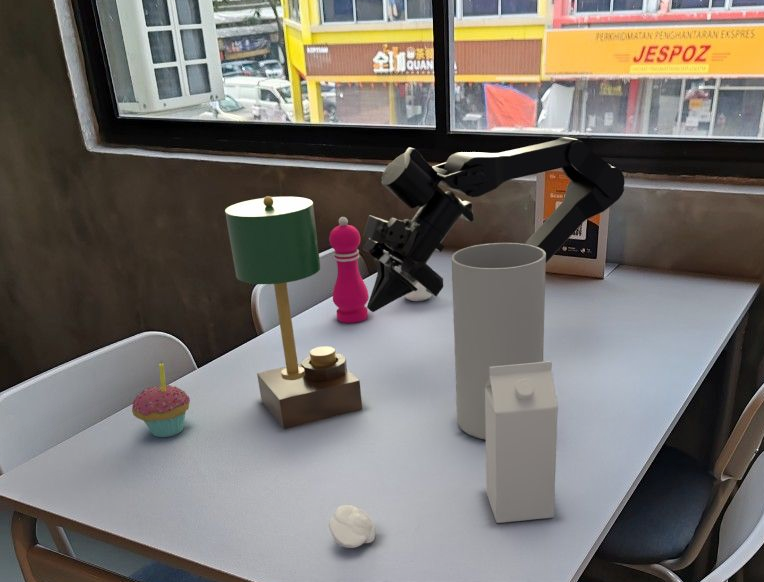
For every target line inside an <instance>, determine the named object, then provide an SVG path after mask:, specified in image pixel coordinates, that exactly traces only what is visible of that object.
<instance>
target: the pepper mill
mask: <svg viewBox="0 0 764 582" xmlns="http://www.w3.org/2000/svg"><path fill="white" fill-rule="evenodd" d="M348 223H349V220H348V218H347V217H345V216H341V217H339V219H338V225H337V226H335V227H334V228H333V229H332V230H331V231H330V232H329V233H330V234H329V237H328V239H329V245H330V246H331V248H332V249H333V252H332V253H333V255H334V256H333V260H334V261H336V266H337V267H336V268H337V275H336V276H337V277H336V280H335V283H334V286H333V290H332V302H333V304H334V305H335V306H336V308H337V310H336V318H337V320H338V322H341V323H343V324H355V323H361V322H363V321H365V320H367V319H368V317H369V312H368V311H369V310H368V308H367V306H366V304H368V302H369V299H370V297H369V291H368V288H367V285H366V283H365V281H364V279H363V278H362V276H361V274H360V273H361V272H360V270H359V265H358V263H359V259H360V250H359V249H358V248H359V246H360V244H361V235H360V231H359V230H358V229H357V228H356V226H354V225H350V224H348Z"/></svg>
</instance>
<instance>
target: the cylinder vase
mask: <svg viewBox="0 0 764 582" xmlns="http://www.w3.org/2000/svg"><path fill="white" fill-rule="evenodd" d="M546 264H547V263H546V253H545V251H544V250H542V249H541V248H538V247H536V246H532V245H527V244H525V243H519V242H492V243H482V244H475V245H471V246H467V247H464V248H461V249H459V250H457V251H455V252H453V254H452V255H451V281H452V285H451V286H452V311H453V312H452V313H453V338H454V339H453V340H454V344H453V345H454V369H455V370H454V371H455V397H456V399H455V400H456V421H457V424H458V426H459V428H460V429H461V430H462V431H463V432H464V433H466V434H468V435H469V436H472V437H474V438H476V439H477V438H478V439H481V440H485V441H486V421H485V386H486V383H487V381H488V378H489V376H490V370H489V367H493V366H504V365H515V364H526V363H536V362H544V349H545V348H544V347H545V346H544V342H545V341H544V340H545V307H546V306H545V305H546V304H545V303H546V302H545V301H546Z"/></svg>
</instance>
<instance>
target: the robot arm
mask: <svg viewBox="0 0 764 582" xmlns="http://www.w3.org/2000/svg"><path fill="white" fill-rule="evenodd" d="M558 169H561V170H562V172H563V174H564V175H565V177H566V178H567V179H568V180H569V183H568V184H567V186H566V190H565V193H564V196H563V200H562V202H561V203H560V204H559V205H558V206H557V208H555V210H554V211H552V213H551V214H550V215H549V216H548V217H547V218H546V220H544V222H543V223H542V224H541V225H540V226H539V227H538V228H537V229H536V231H534V233H533V234H532V235H531V236H530V237H529V238H528V239H527V240H526V241H525V243H524V244H527V245H532V246H536V247H538V248H541V249H542V250H544V251H545V253H546V264H547V263H548V262H549V261H550V260H551V258H553V256H554V255H555V254H556V253H557V252H558V251H559V250H560V249H561V248H562V246H563V245H564V244H565V243H566V242H567V241H568V240H569V239H570V237H571V236H572V235H573V234H574V233H575V232H576V231H577V230H578V229H579V228H580V227H581V225H582V224H583V223H584V222H586V221H587V220H589V219H591V218H593V217H596V216H597V215H599V214H602V213H604V212H606V211H607V210H608V209H609V208H610V207H611V206H613V205H614V204H615V203H616V202H618V201H619V200H620V198H621V197H622V196H623V195H624V193H625V183H626V182H625V176H624V173H623V171H622V170H621V169H619V168H618V167H615V166H612V165H610V164H609V162H607V161H606V160H605V159H603V158H602V157H600V156H599V155H598V154H596V153H595V152H593V151H592V150H591V149H590V148H589V147H588V146H587V145H586V143H584V142H583V141H582V140H580V139H578V138H572V137H567V136H562V137H559V138H558V139H555V140H551V141H546V142H542V143H537V144H533V145H532V144H531V145H528V146H524V147H520V148H519V147H518V148H514V149H511V150H505V151H501V152H479V151H478V152H476V151H472V152H471V151H470V152H467V151H466V152H465V151H464V152H463V151H461V152H455V153H452V154H451V155H450V156H449V157H448V158H447V160H446V161H445V162H442V163H440V164H436V165H431V164H430V163H428V161H426V160H425V159H424V158H423V156H422V154H421V152H419V151H418V150H417V149H416V148H413V147H408V148H407V149H406V150H405V152H404V153H402V154H400V155H399V156H397V157H395V159H394V160H392V162H389V163H388V164H387V166H386V167H385V168H384V171H383V173H382V175H381V178H380V179H381V180H380V181H381V182H380V183H381V184H382V186H384V187H385V188H386V190H388V191H389V192H390V193H391V194H392V195H393V196H395V197H396V198H397V199H398V200H399V201H400V202H401V203H402V204H403V205H404V206H405V207H407V209H410V210H411V209H415V208H419V209H418V210H417V211H416V213H415V214H414V216H413V217H412V219H408V218H405V219H403V220H401V219H397V218H395V217H391V218H390V219H389V220H385V219H382V218H380V217H377V216H374V215H371V214H370V215H368V218H367V220H366V225H365V228H364V231H363V234H362V236H363V237H365V238H368V239H367V240H366V242H365V243H364V245H363V246H362V250H363V251H364V252H366V253H367V254H368V255H369V256H371V257H372V258H374V259H373V262H374V264H375V267H376V273H377V274H376V279H375V281H374V285H373V287H372V291H371V293H370V297H369V299H368V301H367V305H366V307H367V310H368V311H370V312H371V313H375V312H377V311H378V310H380V309H382V308H384V307H385V306H387V305H389V304H391V303H392V302H394V301H396V300H399V299H400V298H402V297H405V296H404V295H406V294H408V293H410V292H412V291H415V292H416V291H417V290H418V289H417V288H416V287H415V285H416V284H417V282H419V283H420V284H421V285H422V286H423V287H425V288H426V291H427V292H428V293H430V294H432V296H434V297H436V298H437V297H438V295H439V294H440V293H441V292H442V290H443V289H444V277H442V276H441V275H440V274H439V273H438V272H436V271H435V269H433V268H432V267H430V265H428V264H427V263H428V261H429V260H430V259H431V257H432V256H433V255H434V253H435V252H436V251H437V252H439V253H442V251H443V250H444V249H445V246H444V245H443V244H442V242H443V241H444V240H445V239H446V237H447V235H448V234H449V232H450V231H451V230H452V228H453V227H454V226H455V224H456V223H457V221H458V220H459V219H461V220H462V219H463V220H465V221H468V222H471V223H472V222H473V221H474V219H475V218H474V212H473V203H472V202H471V201H467V200H463V201H462V199H460V197H458V196H457V195H456V194H455V193H459V194H462V195H465V196H468V197H470V198H478V197H481V196H484V195H485V194H489V193H490V192H492V191H494V190H496V189H498V188H499V187H500V186H502V185H503V184H504V183H506V182H508V181H511V180H515V179H520V178H524V177H528V176H533V175H537V174H542V173H545V172H550V171H554V170H558ZM439 185H440V186H444V187H446V188H448V189H449V190H447V191H444V190H443V189H442V188H441V187H440V186H439ZM454 192H455V193H454Z"/></svg>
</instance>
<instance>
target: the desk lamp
mask: <svg viewBox="0 0 764 582" xmlns="http://www.w3.org/2000/svg"><path fill="white" fill-rule="evenodd" d="M224 215H225V220H226V225H227V231H228V237H229V243H230V250H231V255H232V260H233V267H234V273H235V277H236V279H237V280H238V281H240V282H243V283H247V284H252V285H273V287H274V292H275V301H276V307H277V314H278V315H277V316H278V322H279V327H280V334H281V340H282V341H281V343H282V348H283V355H284V361H285V367H286V368H285V369H283V370H282V371H281V376H282V378H283V379H285V380H297V379H300V378H303V377H304V376H305V369H304V368H303V367H300V366H298V364H299V363H298V361H299V360H298V356H297V355H298V354H297V347H296V340H295V334H294V327H293V319H292V312H291V311H292V310H291V304H290V298H289V291H288V284H287V283H291V282H292V283H293V282H297V281H300V280H304V279H307V278H309V277H312V276H314V275H316V274H317V273H318V272H319V271H320V270H321V261H320V252H319V242H318V234H317V227H316V217H315V208H314V202H313V200H311V199H309V198H306V197H300V196H270V195H269V196H268V195H267V196H265V197H262V198H261V197H260V198H255V199H254V198H253V199H250V200H244V201H241V202H237V203H235V204H231V205H230V206H227V207H226V208H225V210H224Z"/></svg>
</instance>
